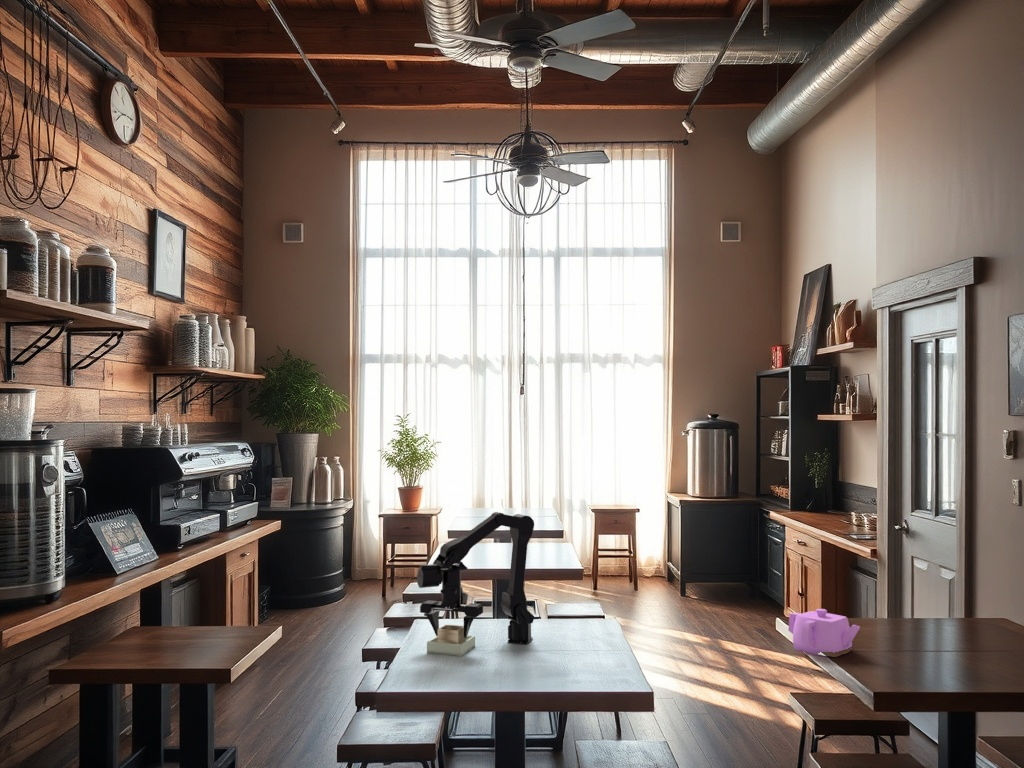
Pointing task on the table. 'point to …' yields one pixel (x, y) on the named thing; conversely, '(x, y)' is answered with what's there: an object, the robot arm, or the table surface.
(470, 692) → the table surface
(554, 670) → the table surface
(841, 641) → the teakettle
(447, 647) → the pale green square tray
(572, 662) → the table surface
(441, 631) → the small crate
